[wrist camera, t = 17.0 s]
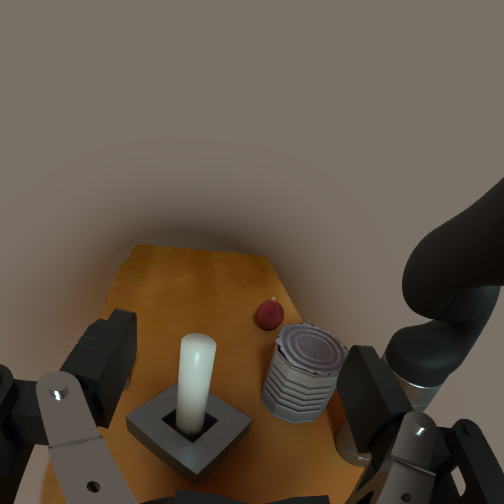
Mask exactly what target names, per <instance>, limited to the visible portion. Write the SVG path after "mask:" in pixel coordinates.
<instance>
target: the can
mask: <svg viewBox="0 0 504 504" xmlns="http://www.w3.org/2000/svg"><path fill="white" fill-rule="evenodd" d="M275 342H276V346H275V350H274V353H273V356H272V359H271V362H270V366H269V369H268V372H267V375H266V378H265V381H264V384H263V389H262V397H261V401H262V403H263V404H264V405H265V407H266V408H267V409H268V410H269V412H270V413H271V414H272V416H275V417H277V418H280V419H282V420H285V421H287V422H290V423H292V424H295V423H304V422H313V421H314V420H315V419H316V418H317V417H318V416H319V415H320V414H321V413H322V412H323V411H324V410H325V408H326V406H327V404H328V402H329V400H330V398H331V397H332V395H333V393H334V391H335V389H336V387H337V377H338V374H339V372H340V370H341V368H342V366H343V364H344V362H345V359H346V357H347V355H348V353H349V351H348V349H347V348H346V347H345V346H344V345H343V344H342V343H341V342H340V341H339V339H338V338H337V337H336V336H335V335H334V334H333V333H331V332H329V331H326V330H324V329H321V328H318V327H316V326H314V325H311V324H308V323H301V324H292V325H284V326H283V328H282V330H281V332H280V334H279V335H278V337H277V339H276V341H275Z"/></svg>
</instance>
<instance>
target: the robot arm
mask: <svg viewBox="0 0 504 504" xmlns="http://www.w3.org/2000/svg"><path fill="white" fill-rule="evenodd" d="M501 286H504V178H502V179H501V180H500V181H499V182H498V183H497V184H496V185H495V186H494V187H493V188H491V189H490V190H489V191H488V192H487V193H486V194H485V195H484V196H482V197H481V198H480V199H479V200H478V201H476V202H475V203H474V204H473V205H471V206H470V207H469V208H467V209H466V210H464V211H463V212H461V213H460V214H458V215H457V216H455V217H454V218H452V219H450V220H449V221H447V222H446V223H444V224H442V225H441V226H439V227H438V228H436V229H435V230H433V231H432V232H430V233H429V234H428V235H426V236H425V237H424V238H423V239H422V240H421V241H420V242H419V244H418V245H417V246H416V248H415V249H414V250H413V252H412V254H411V255H410V257H409V259H408V261H407V264H406V266H405V269H404V273H403V278H402V291H403V296H404V299H405V301H406V303H407V305H408V306H409V307H410V308H411V309H412V310H413V311H414V312H415V313H417V314H419V315H421V316H424V317H426V318H430V319H434V320H432V321H430V322H428V323H425V324H421V325H416V326H410V327H405V328H402V329H400V330H398V331H397V332H396V333H395V334H394V335H393V336H392V338H391V340H390V342H389V344H388V346H387V348H386V350H385V352H384V354H383V356H382V358H381V359H380V358H379V356H378V355H377V353H376V351H375V349H374V348H373V347H372V346H361V345H353V346H352V347H351V349H350V351H349V353H348V355H347V357H346V359H345V362H344V364H343V366H342V368H341V370H340V372H339V374H338V377H337V390H338V393H339V396H340V399H341V402H342V405H343V408H344V411H345V414H346V417H347V419H346V420H345V422H344V424H343V425H342V427H341V428H340V430H339V431H338V433H337V435H336V439H335V442H336V447H337V450H338V452H339V454H340V455H341V456H342V457H343V458H344V459H345V460H346V461H348V462H349V463H351V464H353V465H356V466H359V467H365V469H364V471H363V473H362V475H361V476H360V478H359V480H358V482H357V484H356V486H355V488H354V490H353V492H352V493H351V495H350V497H349V498H348V500H347V501H346V502H345V503H344V504H504V473H503V472H502V469H501V467H500V465H499V463H498V461H497V459H496V457H495V456H494V453H493V452H492V450H491V448H490V446H489V444H488V443H487V440H486V439H485V437H484V435H483V433H482V431H481V430H480V428H479V427H478V426H477V425H476V424H475V423H474V422H472V421H471V420H468V419H460V420H458V421H457V422H456V423H455V424H454V425H453V427H452V428H445V427H437V426H436V424H435V422H434V421H433V420H432V418H431V417H429V416H428V415H427V414H425V413H423V412H424V411H425V409H426V408H427V406H428V405H429V404H430V402H431V401H432V399H433V397H434V396H435V395H436V393H437V392H438V390H439V389H440V388H441V386H442V385H443V383H444V381H445V380H446V378H447V377H448V376H449V374H451V373H452V372H453V371H455V370H456V369H457V368H458V367H459V366H460V365H461V364H462V362H463V361H464V359H465V358H466V356H467V355H468V353H469V351H470V350H471V348H472V347H473V345H474V343H475V342H476V340H477V338H478V337H479V335H480V334H481V332H482V330H483V328H484V327H485V325H486V323H487V321H488V319H489V318H490V316H491V314H492V312H493V309H494V307H495V305H496V302H497V299H498V296H499V292H500V287H501ZM136 352H137V316H136V313H134V312H130V311H125V310H121V309H115V310H114V311H113V313H112V314H111V316H110V317H109V319H108V320H103V319H99V320H97V321H96V322H94V323H92V324H91V325H89V327H88V328H87V330H86V331H85V333H84V334H83V336H82V337H81V338H80V340H79V341H78V344H76V346H75V347H74V349H73V350H72V352H71V353H70V355H69V356H68V358H67V359H66V361H65V362H64V364H63V365H62V367H61V369H60V370H59V371H53V372H50V373H47V374H45V375H43V376H42V377H41V378H40V379H39V381H25V380H17V379H14V378H13V375H12V373H11V371H10V370H9V369H8V368H7V367H6V366H4V365H1V364H0V504H13V503H14V500H15V497H16V494H17V491H18V488H19V485H20V482H21V479H22V477H23V474H24V471H25V468H26V466H27V463H28V461H29V458H30V455H31V453H32V450H33V447H34V445H35V444H39V445H48V446H50V447H48V451H49V455H50V458H51V461H52V464H53V467H54V470H55V473H56V476H57V478H58V481H59V484H60V486H61V489H62V491H63V494H64V496H65V499H66V501H67V503H68V504H138V502H137V500H136V499H135V497H134V495H133V494H132V492H131V490H130V489H129V487H128V485H127V483H126V482H125V480H124V478H123V476H122V474H121V472H120V471H119V469H118V467H117V465H116V463H115V461H114V459H113V457H112V455H111V453H110V451H109V449H108V447H107V445H106V443H105V441H104V439H103V437H102V436H100V434H99V431H98V429H97V428H98V426H100V427H104V428H107V429H108V428H109V425H110V422H111V420H112V417H113V414H114V412H115V409H116V406H117V404H118V401H119V399H120V396H121V394H122V391H123V388H124V386H125V383H126V381H127V378H128V376H129V374H130V371H131V369H132V366H133V364H134V361H135V357H136ZM457 466H458V467H459V469H460V472H461V474H462V476H463V479H464V481H465V483H466V489H465V492H464V494H463V495H462V496H461V497H460V495H459V492H458V490H457V487H456V485H455V482H454V480H453V477H452V475H451V472H452V471H453V470H454V469H455V468H456V467H457ZM141 504H248V503H244V502H240V501H236V500H233V499H229V498H226V497H222V496H219V495H216V494H208V493H200V492H193V491H186V490H180V489H176V493H175V497H166V498H159V499H154V500H150V501H147V502H144V503H141ZM266 504H330V502H329V497H328V495H323V496H308V497H292V498H288V499H284V500H280V501H275V502H271V503H266Z"/></svg>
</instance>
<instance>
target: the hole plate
mask: <svg viewBox="0 0 504 504" xmlns="http://www.w3.org/2000/svg"><path fill="white" fill-rule="evenodd" d="M177 393H178V382H177V383H176V384H174V385H173V386H171V387H170V388H168V389H167V390H165V391H164V392H162V393H161V394H159V395H158V396H156V397H155V398H153V399H151V400H150V401H148V402H147V403H145V404H144V405H142V406H141V407H139V408H137V409H136V410H134V411H133V412H131V413H130V414H128V415H126V423H127V429H128V431H129V432H130V433H131V434H132V435H133V436H134V437H135V438H137V439H138V440H139V441H140V442H141V443H142V444H143V445H144V446H146V447H147V448H148V449H149V450H150V451H151V452H153V453H154V454H155V455H156V456H157V457H159V458H160V459H161V460H162V461H164V462H165V463H166V464H167V465H169V466H170V467H171V468H172V469H174V470H175V471H176V472H178V473H179V474H180V475H182V476H183V477H184V478H186V479H187V480H188V481H190V482H191V483H193V484H194V485H196V484H197V483H198V482H200V481H201V480H202V479H203V478H204V477H205V476H206V475H207V474H208V473H209V472H210V471H211V470H212V469H213V468H214V467H215V466H216V465H217V464H218V463H219V462H220V461H221V460H222V459H223V458H224V457H225V456H226V455H227V454H228V453H229V452H230V451H231V450H232V449H233V448H234V447H235V446H236V445H237V444H238V443H239V442H240V441H241V440H242V439H243V438H244V437H245V436H246V435H247V434H248V432H249V429H250V426H251V423H252V420H253V419H251V418H250V417H248V416H246V415H245V414H243V413H241V412H240V411H238V410H236V409H235V408H233V407H231V406H230V405H228V404H227V403H225V402H223V401H222V400H220V399H219V398H217V397H216V396H214V395H212V394H211V393H209V392H208V398H207V404H206V411H205V417H204V423H203V426H204V427H206V428H207V429H209V430H208V431H207V432H205V433H204V434H203V435H202V436H201V437H200V438H199V439H197V440H196V441H195V442H194V443H191V442H190V441H189V440H187V439H186V438H185V437H183V436H182V435H181V434H179V433H178V432H177V431H175V430H174V429H173V428H171V427H170V426H171V425H173V424H174V423H175V422H176V411H177Z"/></svg>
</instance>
